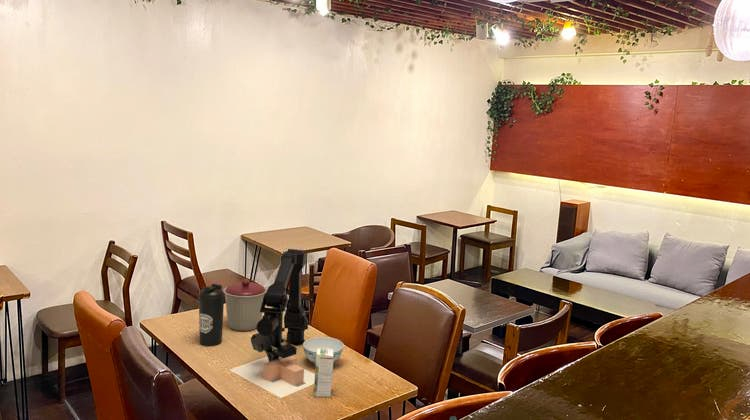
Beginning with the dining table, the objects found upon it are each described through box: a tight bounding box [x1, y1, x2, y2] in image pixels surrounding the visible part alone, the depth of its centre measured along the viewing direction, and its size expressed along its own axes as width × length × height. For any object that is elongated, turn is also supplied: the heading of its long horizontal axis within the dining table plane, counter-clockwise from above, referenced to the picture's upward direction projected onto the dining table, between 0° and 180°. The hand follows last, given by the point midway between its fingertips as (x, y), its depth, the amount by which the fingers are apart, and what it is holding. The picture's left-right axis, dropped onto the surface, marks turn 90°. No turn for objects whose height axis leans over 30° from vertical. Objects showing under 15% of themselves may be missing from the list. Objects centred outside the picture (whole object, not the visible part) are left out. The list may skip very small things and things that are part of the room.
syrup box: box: [313, 349, 334, 398], centre depth 187 cm, size 6×6×14 cm
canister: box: [222, 278, 268, 332], centre depth 241 cm, size 18×18×21 cm
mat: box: [229, 356, 315, 399], centre depth 199 cm, size 20×28×1 cm
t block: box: [263, 355, 305, 386], centre depth 196 cm, size 12×12×5 cm
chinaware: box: [302, 336, 345, 366], centre depth 210 cm, size 15×15×8 cm
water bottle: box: [197, 283, 226, 347], centre depth 222 cm, size 10×10×23 cm
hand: (272, 367), depth 201 cm, fingers closed
